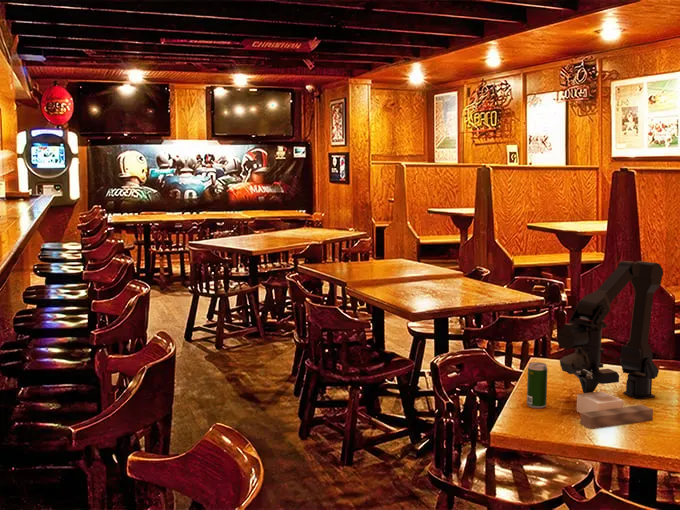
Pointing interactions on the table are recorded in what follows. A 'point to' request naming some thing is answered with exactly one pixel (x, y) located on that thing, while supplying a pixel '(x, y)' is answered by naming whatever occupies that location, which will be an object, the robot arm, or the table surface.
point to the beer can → (537, 385)
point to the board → (616, 416)
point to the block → (597, 402)
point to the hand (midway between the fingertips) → (587, 399)
